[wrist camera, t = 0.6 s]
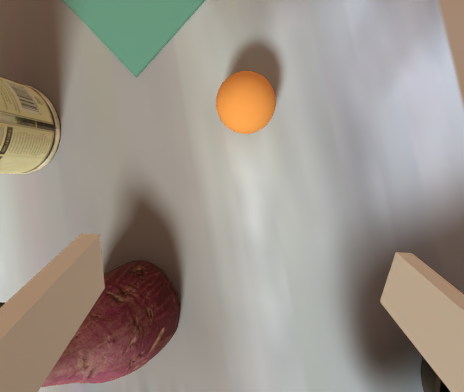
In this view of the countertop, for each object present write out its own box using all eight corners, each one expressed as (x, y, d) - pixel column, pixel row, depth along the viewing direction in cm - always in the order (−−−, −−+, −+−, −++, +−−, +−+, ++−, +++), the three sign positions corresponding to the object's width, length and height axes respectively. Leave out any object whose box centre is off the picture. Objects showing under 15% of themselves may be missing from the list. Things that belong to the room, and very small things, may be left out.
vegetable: (103, 295, 35) (-54, 365, 21) (144, 240, 32) (-7, 277, 18) (153, 362, 32) (7, 494, 18) (202, 307, 29) (75, 414, 15)
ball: (285, 110, 27) (291, 94, 22) (246, 148, 28) (242, 142, 22) (248, 71, 27) (244, 45, 22) (210, 110, 28) (197, 95, 23)
